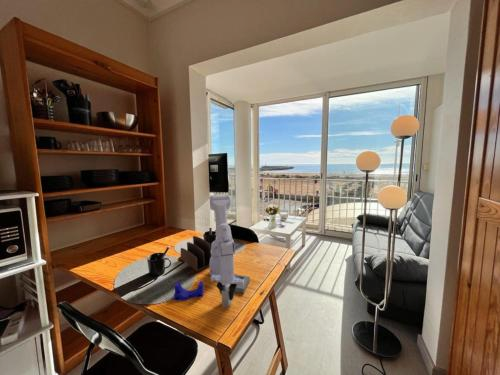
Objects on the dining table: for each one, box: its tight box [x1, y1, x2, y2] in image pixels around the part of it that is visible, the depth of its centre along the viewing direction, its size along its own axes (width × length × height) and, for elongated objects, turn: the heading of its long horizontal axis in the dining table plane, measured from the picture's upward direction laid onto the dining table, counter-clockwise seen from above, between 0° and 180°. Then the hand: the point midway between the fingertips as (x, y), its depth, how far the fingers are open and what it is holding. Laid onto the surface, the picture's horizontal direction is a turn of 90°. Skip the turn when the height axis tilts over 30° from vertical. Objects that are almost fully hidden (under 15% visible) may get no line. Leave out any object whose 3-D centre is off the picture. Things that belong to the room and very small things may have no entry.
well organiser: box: [234, 274, 251, 294], centre depth 101 cm, size 10×10×2 cm
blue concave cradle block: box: [173, 280, 205, 301], centre depth 93 cm, size 12×4×6 cm, turn 93°
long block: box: [221, 284, 235, 308], centre depth 89 cm, size 3×6×7 cm, turn 165°
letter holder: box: [180, 235, 212, 272], centre depth 123 cm, size 10×20×14 cm, turn 44°
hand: (227, 298), depth 89 cm, fingers closed on long block, 3 cm apart
